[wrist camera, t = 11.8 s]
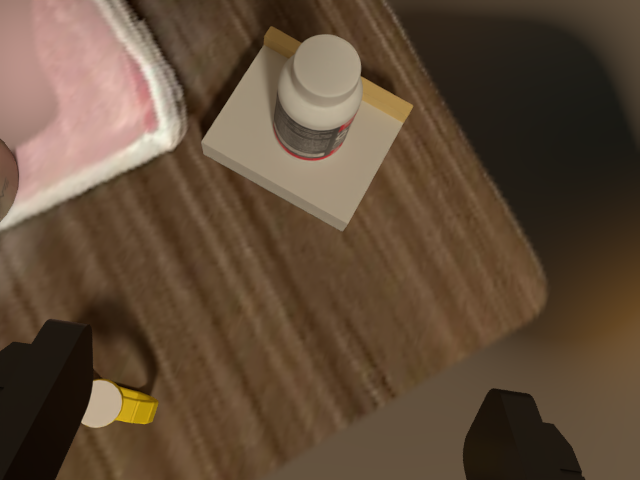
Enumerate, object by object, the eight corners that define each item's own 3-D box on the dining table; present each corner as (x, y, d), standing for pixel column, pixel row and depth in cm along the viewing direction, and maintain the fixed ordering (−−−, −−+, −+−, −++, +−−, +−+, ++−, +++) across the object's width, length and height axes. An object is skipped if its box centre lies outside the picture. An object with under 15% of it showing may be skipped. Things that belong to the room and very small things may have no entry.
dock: (203, 153, 44) (199, 135, 41) (269, 51, 47) (270, 25, 43) (342, 231, 44) (350, 220, 41) (400, 125, 47) (413, 105, 43)
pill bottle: (343, 168, 43) (371, 113, 33) (269, 161, 42) (276, 103, 33) (347, 99, 44) (374, 27, 34) (275, 91, 43) (283, 16, 34)
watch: (165, 387, 41) (158, 394, 35) (152, 427, 40) (143, 441, 35) (79, 364, 40) (58, 366, 34) (64, 404, 40) (40, 414, 34)
